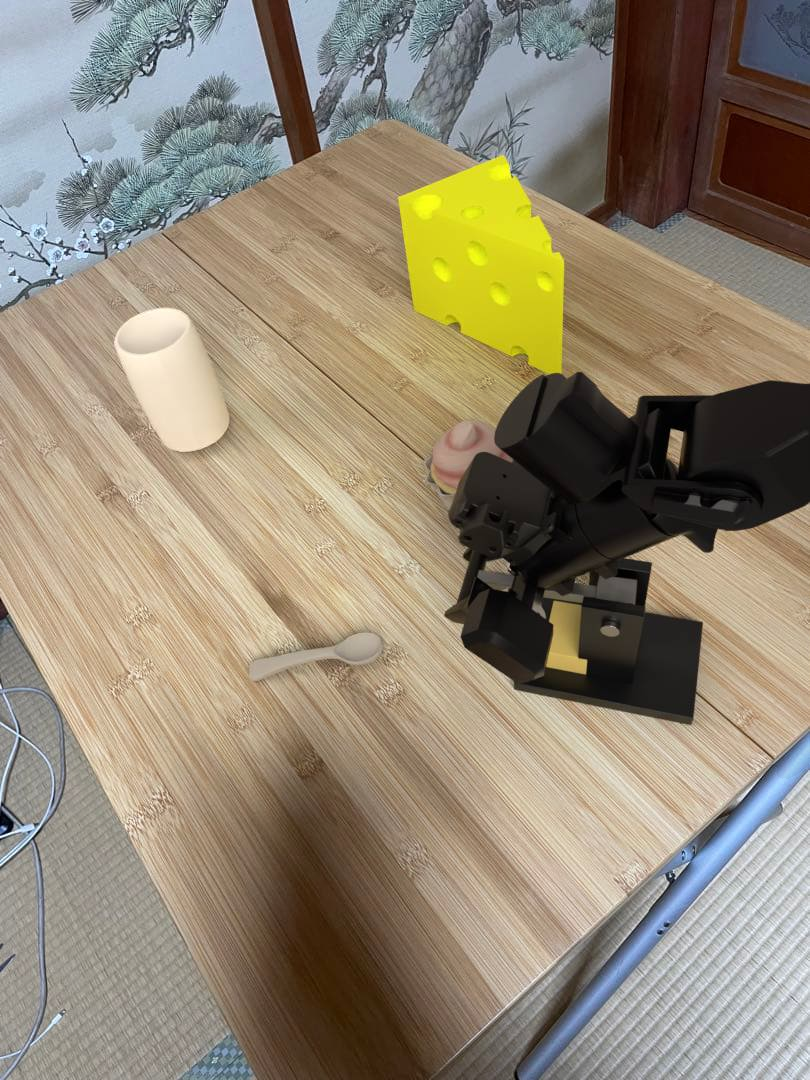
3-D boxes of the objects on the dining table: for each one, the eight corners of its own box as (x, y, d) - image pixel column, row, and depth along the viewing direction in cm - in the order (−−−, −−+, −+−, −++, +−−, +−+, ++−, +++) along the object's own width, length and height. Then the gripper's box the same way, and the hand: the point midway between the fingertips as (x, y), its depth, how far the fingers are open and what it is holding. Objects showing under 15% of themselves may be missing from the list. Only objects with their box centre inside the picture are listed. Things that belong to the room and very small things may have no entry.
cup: (228, 399, 96) (188, 295, 85) (241, 447, 91) (200, 342, 80) (157, 422, 95) (106, 319, 84) (166, 471, 90) (113, 369, 79)
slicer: (513, 690, 69) (509, 618, 60) (535, 601, 74) (534, 523, 65) (691, 725, 65) (713, 654, 56) (701, 629, 70) (722, 550, 61)
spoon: (387, 664, 71) (382, 652, 70) (254, 693, 72) (246, 682, 71) (384, 635, 73) (379, 623, 72) (254, 664, 74) (246, 652, 73)
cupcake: (485, 550, 78) (478, 478, 70) (409, 507, 82) (396, 435, 75) (543, 489, 82) (543, 413, 74) (468, 451, 86) (460, 376, 78)
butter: (553, 616, 71) (553, 600, 69) (596, 623, 70) (597, 607, 68) (542, 666, 68) (542, 651, 66) (586, 674, 67) (587, 659, 65)
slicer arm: (458, 614, 65) (454, 596, 63) (474, 559, 68) (471, 540, 66) (629, 640, 61) (630, 622, 59) (638, 580, 64) (640, 561, 62)
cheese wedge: (583, 272, 103) (588, 154, 91) (561, 379, 91) (564, 260, 80) (430, 266, 108) (417, 154, 96) (391, 368, 96) (371, 254, 84)
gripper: (547, 354, 58) (415, 447, 70) (485, 565, 48) (341, 633, 59) (651, 447, 62) (510, 520, 74) (615, 661, 51) (457, 707, 63)
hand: (458, 587), depth 67 cm, fingers closed on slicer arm, 5 cm apart
